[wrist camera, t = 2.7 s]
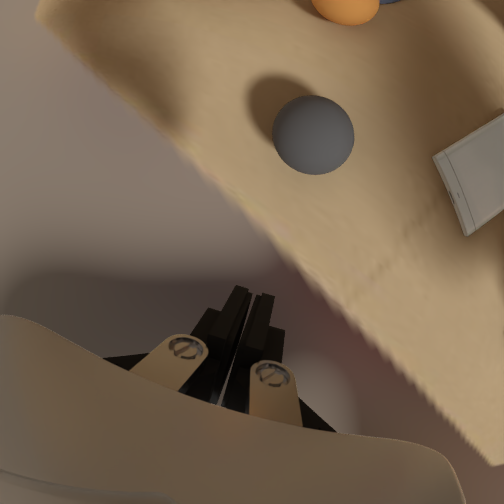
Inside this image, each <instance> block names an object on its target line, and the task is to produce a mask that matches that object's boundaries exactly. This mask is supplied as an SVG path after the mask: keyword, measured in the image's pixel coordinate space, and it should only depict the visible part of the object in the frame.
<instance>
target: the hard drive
mask: <svg viewBox="0 0 504 504" xmlns="http://www.w3.org/2000/svg"><path fill="white" fill-rule="evenodd" d="M432 159H433V161H434V163H435V165H436V167H437V169H438V171H439V173H440V176H441V178H442V180H443V182H444V184H445V187H446V189H447V191H448V194H449V196H450V199H451V201H452V204H453V206H454V209H455V211H456V214H457V216H458V219H459V222H460V225H461V228H462V231H463V234H464V235H465V236H467V237H468V236H469V235H470V234H472V233H473V232H475V231H476V230H477V229H479V228H480V227H481V226H483V225H484V224H485V223H487V222H488V221H489V220H491V219H492V218H493V217H495V216H496V215H497V214H499V213H500V212H501V211H502V210H504V113H503V114H501V115H500V116H498V117H497V118H495V119H493V120H492V121H490V122H488V123H487V124H485V125H483V126H482V127H480V128H478V129H477V130H475V131H474V132H472V133H470V134H469V135H467V136H465V137H464V138H462V139H460V140H459V141H457V142H456V143H454V144H452V145H451V146H449V147H447V148H446V149H444V150H442V151H441V152H439V153H437V154H436V155H434V156H433V157H432Z"/></svg>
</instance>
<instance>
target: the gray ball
mask: <svg viewBox="0 0 504 504" xmlns="http://www.w3.org/2000/svg"><path fill="white" fill-rule="evenodd" d="M272 135H273V142H274V146H275V148H276V151H277V152H278V154H279V156H280V157H281V159H282V160H283V161H284V162H285V163H286V164H287V165H289V166H290V167H291V168H293V169H295V170H297V171H299V172H302V173H305V174H311V175H320V174H325V173H329V172H331V171H333V170H335V169H337V168H338V167H340V166H341V165H342V164H343V163H344V162H345V161H346V160H347V158H348V157H349V155H350V153H351V151H352V148H353V144H354V129H353V125H352V123H351V120H350V118H349V116H348V115H347V113H346V112H345V111H344V110H343V109H342V108H341V107H340V106H339V105H338V104H337V103H335V102H334V101H332V100H330V99H327V98H325V97H321V96H314V95H310V96H302V97H299V98H296V99H294V100H292V101H290V102H288V103H287V104H286V105H285V106H284V107H283V108H282V109H281V110H280V112H279V113H278V114H277V116H276V118H275V121H274V124H273V132H272Z"/></svg>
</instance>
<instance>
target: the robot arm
mask: <svg viewBox="0 0 504 504" xmlns="http://www.w3.org/2000/svg"><path fill="white" fill-rule="evenodd" d="M248 290H249V289H247V288H244V287H241V286H238V285H236V286H235V288H234V290H233V291H232V293H231V295H230V296H229V298H228V300H227V302H226V304H225V305H224V307H223V309H222V311H218V310H215V309H211V308H208V309H207V310H206V312H205V313H204V315H203V316H202V318H201V319H200V321H199V322H198V324H197V325H196V327H195V328H194V330H193V331H192V333H191V334H190V335H184V334H180V335H173V336H171V337H169V338H167V339H166V340H165V341H164V342H162V343H161V344H160V345H159V346H158V347H157V348H155V349H154V350H153V351H152V352H151V353H145V354H138V355H128V356H120V357H108V358H100V357H98V356H96V355H95V354H93V353H91V352H89V351H87V350H85V349H83V348H82V347H80V346H78V345H76V344H75V343H73V342H71V341H69V340H67V339H65V338H64V337H62V336H60V335H58V334H57V333H55V332H53V331H51V330H49V329H47V328H45V327H43V326H41V325H39V324H37V323H35V322H32V321H29V320H27V319H23V318H20V317H16V316H10V315H0V504H466V501H465V498H464V495H463V491H462V488H461V486H460V483H459V481H458V479H457V476H456V474H455V471H454V470H453V468H452V466H451V464H450V463H449V461H448V460H447V459H446V458H445V457H444V456H443V455H442V454H440V453H438V452H437V451H435V450H433V449H431V448H427V447H425V446H422V445H419V444H415V443H410V442H407V441H402V440H395V439H388V438H377V437H368V436H360V435H352V434H343V433H337V432H336V431H335V430H334V429H333V428H332V427H331V426H329V425H328V424H327V423H326V422H325V421H324V420H323V419H322V418H321V417H319V416H318V415H317V414H316V413H315V412H313V410H312V409H311V408H309V406H307V405H306V404H305V403H304V402H303V401H302V400H301V399H300V398H299V397H298V393H297V387H296V381H295V377H294V374H293V373H292V371H291V370H290V369H289V368H287V367H286V366H285V365H283V364H281V363H282V355H283V345H284V337H285V330H282V329H279V328H275V327H271V326H269V323H270V318H271V313H272V308H273V303H274V298H275V296H272V295H269V294H265V293H262V296H260V295H256V298H255V301H254V303H253V306H252V309H251V311H250V314H249V317H248V320H247V323H246V325H245V328H244V331H243V334H242V330H243V326H244V323H245V319H246V316H247V312H248V309H249V305H250V301H251V298H252V293H249V292H248ZM241 334H242V337H241ZM240 337H241V339H240ZM239 341H240V342H239ZM238 344H239V345H238ZM236 351H237V352H236ZM235 354H236V355H235ZM234 356H235V359H234ZM233 359H234V362H233ZM232 362H233V366H232V370H231V373H230V377H229V380H228V383H227V387H226V390H225V394H224V397H223V401H222V404H221V406H222V407H220V406H217V405H216V404H217V402H218V399H219V397H220V394H221V391H222V389H223V386H224V383H225V381H226V378H227V375H228V372H229V370H230V367H231V364H232ZM211 403H212V404H211ZM213 404H215V405H213ZM223 407H225V408H223Z"/></svg>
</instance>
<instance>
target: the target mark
mask: <svg viewBox="0 0 504 504" xmlns="http://www.w3.org/2000/svg"><path fill="white" fill-rule="evenodd" d="M397 1H400V0H379V4H388V3H393V2H397Z"/></svg>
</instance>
